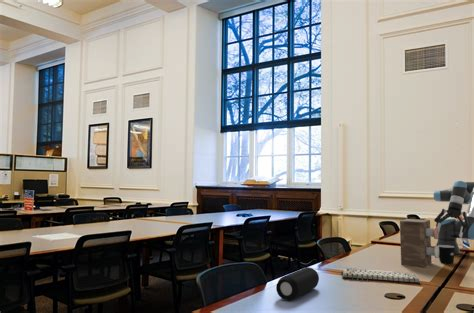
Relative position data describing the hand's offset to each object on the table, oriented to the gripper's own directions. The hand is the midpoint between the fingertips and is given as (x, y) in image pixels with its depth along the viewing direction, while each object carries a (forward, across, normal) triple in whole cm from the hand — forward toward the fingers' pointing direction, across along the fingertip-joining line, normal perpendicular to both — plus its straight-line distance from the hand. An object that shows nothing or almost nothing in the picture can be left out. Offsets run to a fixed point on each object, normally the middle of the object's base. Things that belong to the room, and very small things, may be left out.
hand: (448, 235), depth 243 cm
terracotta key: (+11, -3, -22) cm, 25 cm away
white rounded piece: (+21, -2, -18) cm, 27 cm away
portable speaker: (+70, -16, -105) cm, 128 cm away
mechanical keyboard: (+47, -6, -58) cm, 75 cm away
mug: (+18, +3, 0) cm, 18 cm away
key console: (+26, -8, -16) cm, 32 cm away
